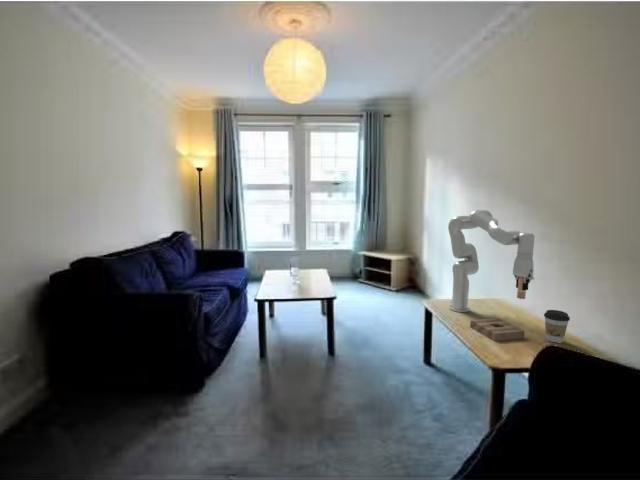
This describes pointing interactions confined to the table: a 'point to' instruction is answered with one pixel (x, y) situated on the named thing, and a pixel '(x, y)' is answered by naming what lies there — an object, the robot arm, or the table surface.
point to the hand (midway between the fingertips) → (521, 288)
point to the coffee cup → (556, 325)
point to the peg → (521, 288)
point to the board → (497, 329)
